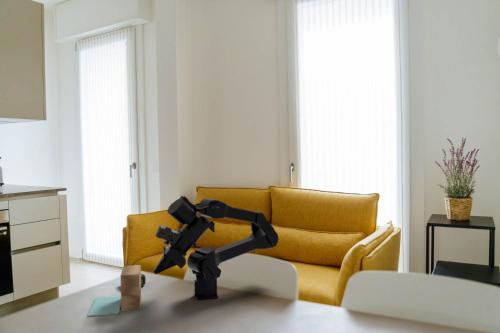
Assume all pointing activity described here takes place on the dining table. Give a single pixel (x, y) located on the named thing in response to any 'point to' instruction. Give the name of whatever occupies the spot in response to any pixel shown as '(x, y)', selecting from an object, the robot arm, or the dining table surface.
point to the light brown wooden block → (131, 287)
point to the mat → (105, 306)
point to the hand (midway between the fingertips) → (154, 272)
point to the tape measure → (143, 279)
